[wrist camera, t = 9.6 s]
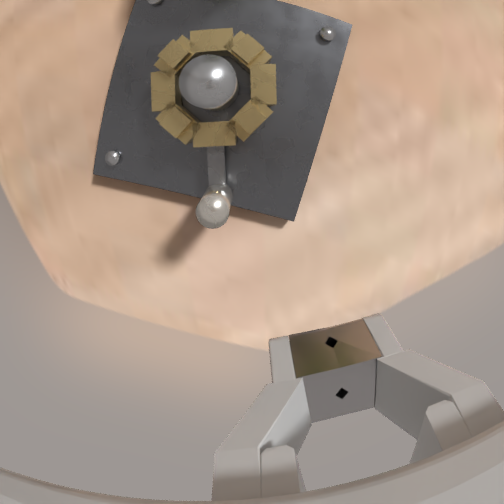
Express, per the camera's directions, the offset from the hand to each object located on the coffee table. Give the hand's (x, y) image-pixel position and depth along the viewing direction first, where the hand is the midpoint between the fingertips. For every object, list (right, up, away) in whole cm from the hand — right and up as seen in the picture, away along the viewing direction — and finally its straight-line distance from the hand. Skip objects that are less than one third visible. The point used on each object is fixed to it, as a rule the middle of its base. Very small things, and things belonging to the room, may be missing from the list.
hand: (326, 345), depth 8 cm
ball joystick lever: (-5, +14, +18) cm, 23 cm away
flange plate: (-5, +17, +18) cm, 26 cm away
